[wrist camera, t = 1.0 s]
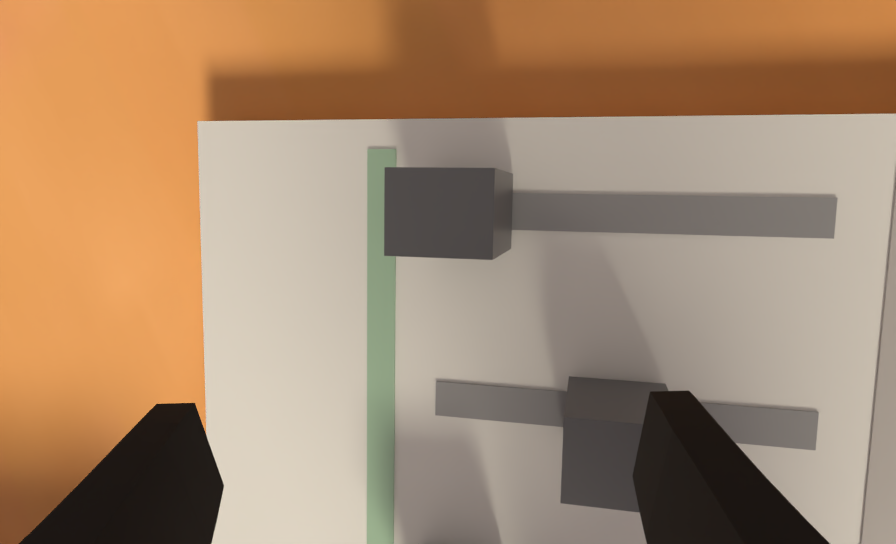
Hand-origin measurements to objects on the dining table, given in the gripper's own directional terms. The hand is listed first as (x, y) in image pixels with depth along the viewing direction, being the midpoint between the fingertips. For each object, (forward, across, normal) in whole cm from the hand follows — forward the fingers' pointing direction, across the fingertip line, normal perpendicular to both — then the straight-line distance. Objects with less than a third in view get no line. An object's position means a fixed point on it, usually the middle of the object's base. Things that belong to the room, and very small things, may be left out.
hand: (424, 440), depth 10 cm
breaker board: (+10, -5, +9) cm, 14 cm away
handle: (+11, -1, +2) cm, 12 cm away
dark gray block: (+7, -6, +7) cm, 12 cm away
